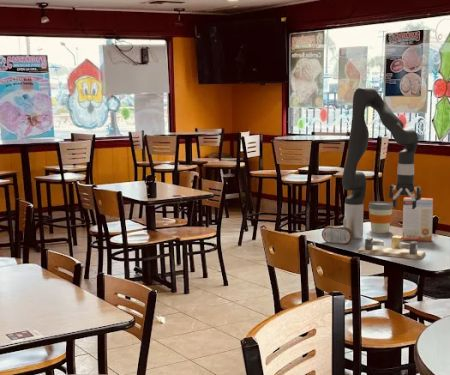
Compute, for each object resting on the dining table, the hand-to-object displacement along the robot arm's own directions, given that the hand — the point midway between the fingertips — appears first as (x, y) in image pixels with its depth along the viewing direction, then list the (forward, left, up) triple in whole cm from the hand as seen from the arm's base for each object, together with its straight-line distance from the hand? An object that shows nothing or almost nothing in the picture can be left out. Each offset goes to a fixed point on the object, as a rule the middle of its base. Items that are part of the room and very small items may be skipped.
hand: (404, 208), depth 322 cm
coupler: (-2, -3, -19) cm, 20 cm away
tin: (-31, -3, -19) cm, 37 cm away
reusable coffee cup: (-20, +37, -19) cm, 47 cm away
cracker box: (+2, +23, -19) cm, 30 cm away
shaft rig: (-2, -14, -19) cm, 24 cm away
